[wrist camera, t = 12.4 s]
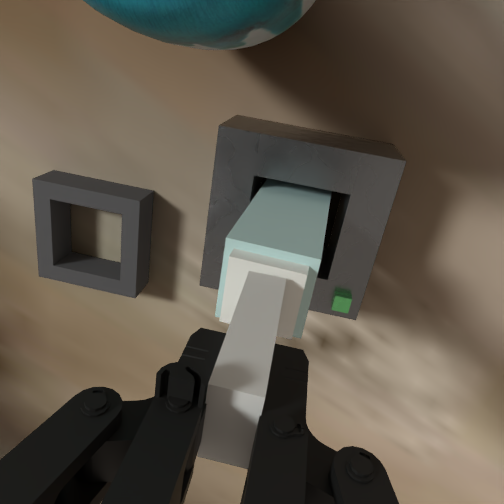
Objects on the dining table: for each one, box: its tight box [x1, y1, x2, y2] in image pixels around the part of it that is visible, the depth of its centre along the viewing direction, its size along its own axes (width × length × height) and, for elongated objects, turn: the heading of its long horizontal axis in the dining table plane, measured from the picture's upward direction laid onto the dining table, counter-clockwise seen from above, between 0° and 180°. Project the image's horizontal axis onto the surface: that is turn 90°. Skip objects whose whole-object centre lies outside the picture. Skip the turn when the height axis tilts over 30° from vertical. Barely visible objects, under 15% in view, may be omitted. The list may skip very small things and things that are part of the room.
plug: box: [215, 178, 332, 340], centre depth 23 cm, size 4×4×13 cm
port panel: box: [200, 115, 406, 320], centre depth 26 cm, size 10×10×6 cm
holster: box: [32, 170, 154, 298], centre depth 31 cm, size 8×8×2 cm
